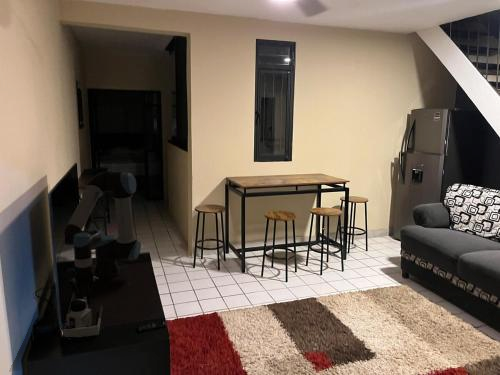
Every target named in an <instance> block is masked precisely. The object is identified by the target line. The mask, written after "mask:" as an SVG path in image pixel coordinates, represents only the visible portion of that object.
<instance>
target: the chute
mask: <svg viewBox="0 0 500 375" xmlns="http://www.w3.org/2000/svg"><path fill="white" fill-rule="evenodd" d="M99 307H100V308H99V312H98V320H97V325H90V326H89V327H81V328H72V329H64V328H63V329H62V330H63V335H64V336H65V337H76V338H83V337H84V336H85V337H93V336H99V335H100V328H101V321H102V315H103V305H101V306H99ZM69 312H71V308H70V309H69Z"/></svg>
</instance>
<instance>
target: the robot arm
mask: <svg viewBox="0 0 500 375" xmlns="http://www.w3.org/2000/svg"><path fill="white" fill-rule="evenodd" d="M84 190H85V192H84V194H83V195H82V197H81V199H80V201H79V203H78V204H77V206H76V208H75V210H74V212H73V213H72V216H71V218H70V219H69V221H68V223H67V224H66V226H65V228H64V229H65V232H64V233H65V244H66V246H67V245H68V246H73V253H74V254H73V255H74V270H75V271H74V272H75V275H74V276H73V278H70V280H69V283H70V285H71V286H72V288H73V292H74V294H75V297H76V300H77V299H84V300H85V301H86V309H89V306H90V303H91V298H93V297H94V294H95V290H96V285H97V283H98V281H99V280H101V279H102V280H105V279H112V278H115V277H116V276H119V275H120V273H121V272H120V267H119V264H118V262H117V260H121V261H136V260H137V259H138V258H139V255H140V253H141V248H142V243H141V241H140V240H138V238H137V236H136V235H135V234H134V223H133V222H134V221H133V212H132V211H133V209H132V197H133V196H134V193H136V191H137V180H136V177H135V175H133V174H132V173H130V172H125V171H124V172H123V171H101V172H99V173H97V174H96V175H94V176H93V177H92V178H91V179H90V180H89V181H88V183H87V184H86V185H85V188H84ZM104 193H111V197H112V198H113V199H114V202H115V203H114V204H115V213H116V224H117V233H118V236H117V238H116V235H105V233H104V231H102V230H101V229H99V228H95V229H92V230H83V229H84V227H85V225H86V223H87V221H88V220H89V217H90V216H91V213H92V211H93V209H94V208H95V206H96V204H97V201H98V199H99V198H100V197H102V196H103V194H104ZM92 250H95V251H94V252H95V253H94V254H95V264H94V268H93V257H92ZM91 281H93V284H92V288H91V292H90V282H91ZM76 282H77V283H78V284H79V289H78V285H77V283H76ZM84 285H85V287H84ZM79 290H80V291H79ZM85 294H86V296H85ZM88 305H89V306H88Z"/></svg>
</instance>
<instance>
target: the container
mask: <svg viewBox="0 0 500 375" xmlns="http://www.w3.org/2000/svg"><path fill="white" fill-rule="evenodd" d="M70 309H71V312H70V311H69V312H70V313H69V312H68V313H67V314H66V315H65V316H66V321H67V325H68V326H70V327H72V328H81V327H86V326H89V327H90V326H92V320H93V319H92V309H91V308H88V309H86V301H85V300H84V299H77V298H76V299H74V300H72V301H71V302H70Z"/></svg>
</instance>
